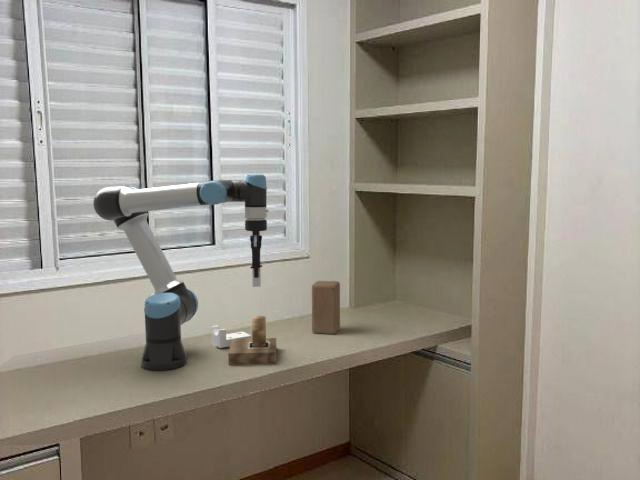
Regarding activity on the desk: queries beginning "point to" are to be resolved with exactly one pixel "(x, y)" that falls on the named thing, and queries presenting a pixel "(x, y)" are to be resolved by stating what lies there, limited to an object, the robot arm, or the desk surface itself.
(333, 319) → the wooden block
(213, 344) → the bracket
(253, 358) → the seat board
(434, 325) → the desk surface
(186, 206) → the robot arm
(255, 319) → the oak peg
